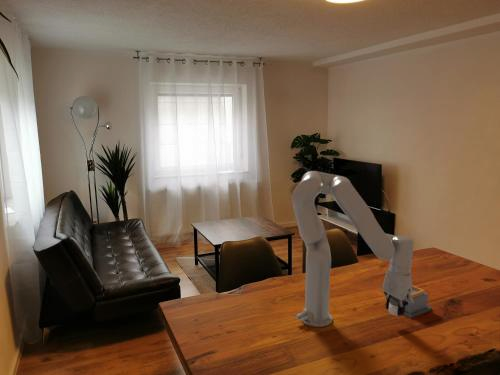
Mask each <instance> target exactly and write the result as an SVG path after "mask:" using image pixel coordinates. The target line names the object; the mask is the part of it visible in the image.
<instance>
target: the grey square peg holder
mask: <svg viewBox="0 0 500 375" xmlns="http://www.w3.org/2000/svg"><path fill="white" fill-rule="evenodd" d="M411 296H412V298H413V300H414V303H411V304H408V305H406V306H405V313H404V314H403V315H402V316H405V317H407V318H409V319H412V318H414V317H418V316H420V315H422V314H425V313H426V312H427V313H428V312H429V311H432V310H433V307H432V306H430V305H428V299H429V293H427V292H425V290H424V289H422V288H421V287H418V286H415V285H413V284H412V292H411ZM407 301H408V298H407ZM403 303H404V302H403ZM384 306H386V302H385V303H384Z"/></svg>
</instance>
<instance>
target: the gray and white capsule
mask: <svg viewBox="0 0 500 375" xmlns="http://www.w3.org/2000/svg"><path fill="white" fill-rule="evenodd" d="M398 306H400V301H399V299H397V298H395V297H393V296H390V301H389V309H387V310H388V311H387V312H388V314H390V315H391V316H396V317H399V316H398V315H397V313H398Z"/></svg>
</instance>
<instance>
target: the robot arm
mask: <svg viewBox="0 0 500 375" xmlns="http://www.w3.org/2000/svg"><path fill="white" fill-rule="evenodd" d="M319 194H323V195H330V196H332V198H333V199H334V201H335V202H336V203H337V205H338V207H339V208H340V209H341V210H342V211H343V213H344V214H345V216H346V217H347V218H348V220H349V221H350V223H351V224H352V226H353V227H354V228H355V230H356V231H357V232H358V233H359V235H360V236H361V237H362V239H363V240H364V241H365V243H366V244H367V246H368V247H369V248H370V249H371V251H372V252H373V254H374V255H375V256H376V257H377V258H378V259H380V260H384V261H386V260H388V261H387V263H388V264H389V267H387V270H386V272H385V276H384V280H383V285H382V286H381V289H382V291H383V293H384V296H385V300H386V302H385V303H386V305H385V309H386V310H388V309H389V301H390V296H393V297H395V298H397V299H399V301H400V306H398V313H397V315H398V316H397V317H400V316H404V315H403V314H404V313H405V306H406V305H408V304H411V303H414V300H413V298H412V296H411V292H412V285H413V279H412V278H413V276H412V274H411V269H412V262H413V253H414V246H415V242H414V239H413V238H412V237H410V236H406V235H395V234H394V235H393V234H390V233H386V232H384V230H383V229H382V227H381V225H380V224H379V222H378V221H377V219H376V218H375V215H374V213H373V212H372V210H371V209H370V207H369V206H368V205H367V203H366V202H365V200H364V199H363V198H362V196H361V195H360V194H359V192H358V191H357V190H356V188H355V187H354V185H353V184H352V183H351V180H350V179H349V178H347V177H346V176H343V175H338V174H332V173H327V172H323V171H318V170H310V171H307V172H306V173H304V174H303V176H302V177H301V180H300V182H299V183H297V186H295V188H294V190H293V192H292V196H291V204H292V208H293V209H292V210H293V212H294V218H295V220H296V223H297V227H298V228H297V229H298V232H299V236H300V238H301V239H302V241H303V242H304V245H305V248H306V255H305V290H304V291H305V295H304V296H305V297H304V298H305V300H304V305H305V306H304V308H303V309H302V312H300V313H297V314H295V316H294V317H295V319H296V320H297V321H299V320H301V321H302V322H303V323H304V324H305V325H308V326H309V327H314V328H315V327H316V328H323V327H327V326H330V325H331V324H332V322H333V316H332V313H329V311H330V289H331V288H330V287H331V286H330V280H331V269H332V268H331V267H332V255H331V248H330V243H329V241H328V237H327V233H326V229H325V226H324V223H323V221H322V218H321V217H320V216H319V215H318V211H317V208H316V205H315V200H316V197H317V196H318V195H319ZM407 298H408V301H407ZM403 302H404V303H403Z"/></svg>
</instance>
